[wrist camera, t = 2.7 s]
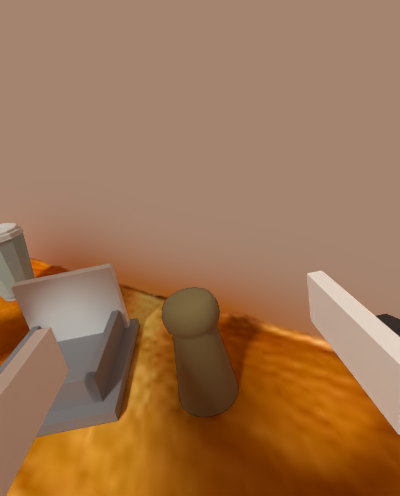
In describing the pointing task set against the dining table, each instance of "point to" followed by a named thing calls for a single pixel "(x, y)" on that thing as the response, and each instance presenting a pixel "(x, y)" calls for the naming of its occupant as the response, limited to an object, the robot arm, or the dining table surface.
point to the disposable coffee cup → (13, 259)
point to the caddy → (82, 342)
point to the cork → (199, 352)
